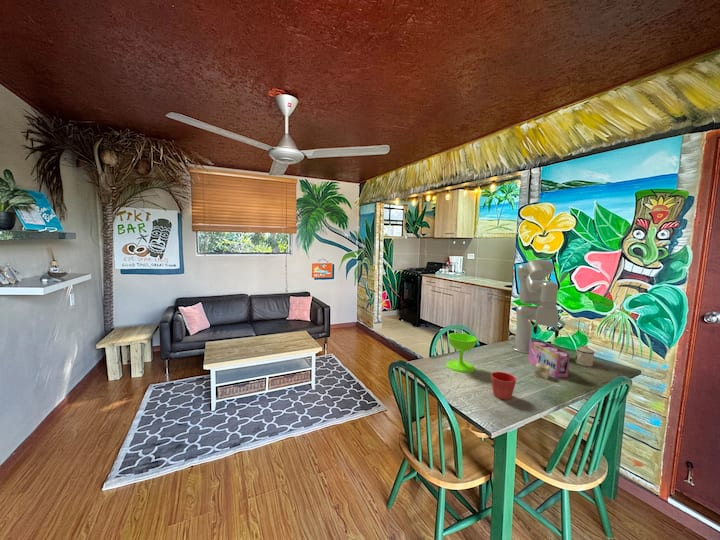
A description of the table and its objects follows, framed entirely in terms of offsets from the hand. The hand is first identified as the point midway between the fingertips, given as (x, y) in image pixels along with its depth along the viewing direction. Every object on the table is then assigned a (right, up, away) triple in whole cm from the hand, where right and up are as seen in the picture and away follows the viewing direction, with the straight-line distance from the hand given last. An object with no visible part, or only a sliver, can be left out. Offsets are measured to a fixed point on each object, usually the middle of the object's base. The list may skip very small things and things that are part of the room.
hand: (545, 335), depth 163 cm
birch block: (-1, -23, +2) cm, 23 cm away
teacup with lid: (+37, -23, +21) cm, 48 cm away
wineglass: (-43, -21, +11) cm, 49 cm away
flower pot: (-34, -24, -21) cm, 47 cm away
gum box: (+8, -23, +12) cm, 27 cm away
